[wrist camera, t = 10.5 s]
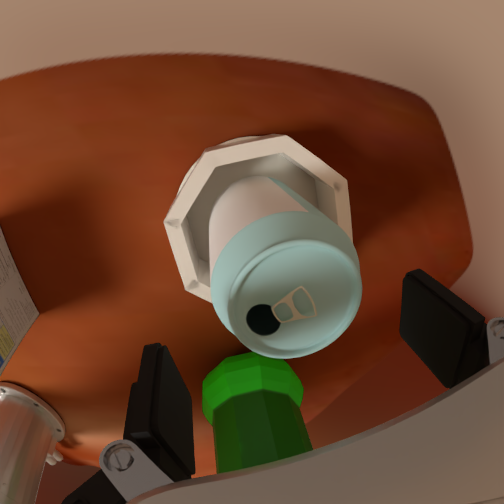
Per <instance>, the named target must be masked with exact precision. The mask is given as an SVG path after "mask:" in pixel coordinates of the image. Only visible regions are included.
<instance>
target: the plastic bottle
mask: <svg viewBox="0 0 504 504" xmlns="http://www.w3.org/2000/svg"><path fill="white" fill-rule="evenodd" d="M303 391H304V389H303V386H302V383H301V381H300V379H299V378H298V377H297V375H296V374H295V373H294V371H293V370H292V369H291V367H290V366H289V364H288V363H287V362H285V361H284V360H283V359H280V358H272V357H267V356H263V355H260V354H258V353H256V352H254V351H253V352H248V353H244V354H240V355H235V356H231V357H227V358H225V359H224V360H223V361H222V362H221V363H220V364H219V365H218V366H216V367H215V368H214V369H213V370H212V371H211V372H210V373H209V374H207V375H206V377H205V379H204V381H203V384H202V412H203V414H204V415H205V417H206V419H207V420H208V422H209V423H210V424H211V425H212V426H213V432H214V446H215V458H216V469H217V474H220V473H225V472H230V471H235V470H240V469H244V468H249V467H253V466H257V465H262V464H266V463H270V462H274V461H278V460H282V459H285V458H289V457H292V456H296V455H299V454H302V453H306V452H309V451H312V450H313V448H312V445H311V442H310V439H309V436H308V433H307V430H306V427H305V424H304V421H303V418H302V415H301V412H300V409H299V408H300V405H301V402H302V398H303Z"/></svg>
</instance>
